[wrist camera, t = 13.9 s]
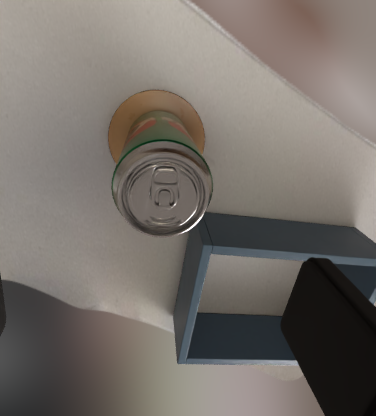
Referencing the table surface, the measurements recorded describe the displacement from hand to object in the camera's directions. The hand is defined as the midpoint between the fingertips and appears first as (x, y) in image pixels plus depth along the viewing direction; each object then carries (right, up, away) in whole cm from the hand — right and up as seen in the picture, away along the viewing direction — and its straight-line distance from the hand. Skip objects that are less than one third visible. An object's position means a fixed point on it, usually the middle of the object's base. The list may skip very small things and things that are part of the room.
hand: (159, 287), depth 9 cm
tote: (+9, -5, +23) cm, 25 cm away
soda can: (-2, +8, +15) cm, 18 cm away
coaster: (-2, +8, +16) cm, 18 cm away
